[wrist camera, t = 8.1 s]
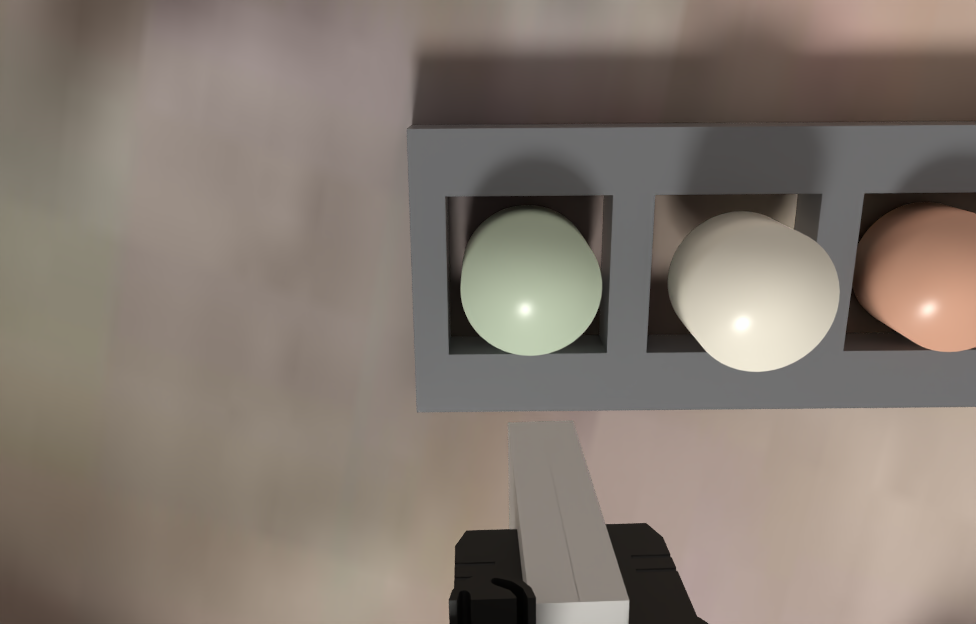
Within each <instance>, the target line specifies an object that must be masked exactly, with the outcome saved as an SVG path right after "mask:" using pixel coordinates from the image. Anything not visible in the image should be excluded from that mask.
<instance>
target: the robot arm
mask: <svg viewBox="0 0 976 624" xmlns="http://www.w3.org/2000/svg"><path fill="white" fill-rule="evenodd" d="M508 465H509V528H510V529H504V530H472V531H466V532H465V533H464V535H463V536H462V537H461V539H460V540H459V542H458V543H457V544H456V546H455V581H454V589H453V590H452V593H451V596H450V598H449V619H450V624H708V623H707V622H705V621H704V620H702V619H701V618H699V617H697V615H696V613H695V610H694V608H693V606H692V604H691V601H690V599H689V597H688V594H687V592H686V590H685V587H684V585H683V583H682V580H681V578H680V576H679V573H678V571H676V566H675V564H674V562H673V560H672V557H670V553H669V550H668V548H667V546H666V543H665V541H664V539H663V537H662V536H661V535H659V534H658V533H657V532H656V531H655V530H654V529H652V528H651V527H650V526H649V525H648V524H647V523H634V524H605V521H604V518H603V515H602V512H601V509H600V505H599V502H598V499H597V496H596V493H595V489H594V486H593V483H592V480H591V477H590V474H589V470H588V467H587V464H586V461H585V458H584V454H583V451H582V448H581V445H580V442H579V438H578V435H577V432H576V429H575V426H574V423H573V421H542V422H508Z"/></svg>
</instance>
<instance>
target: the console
mask: <svg viewBox="0 0 976 624" xmlns="http://www.w3.org/2000/svg"><path fill="white" fill-rule="evenodd" d="M407 151H408V179H409V207H410V236H411V264H412V292H413V320H414V348H415V376H416V404H417V412H493V411H596V410H700V409H804V408H907V407H976V347H974V348H971V349H968V350H963V351H957V352H940V351H935V350H930V349H927V348H924V347H922V346H920V345H918V344H916V343H915V342H913V341H911V340H910V339H908V338H906V337H905V336H903V335H902V334H900V333H846V327H847V319H848V312H849V304H850V297H851V289H852V282H853V274H854V267H855V259H856V252H857V244H858V237H859V229H860V222H861V214H862V207H863V199H864V193H958V192H976V121H920V122H778V123H635V124H493V125H411V126H410V127H409V128H407ZM697 194H798V202H797V211H796V220H795V229H794V230H796V231H798V232H800V233H802V234H804V235H806V236H808V237H810V238H811V239H813V240H814V241H815V242H817V243H818V244H819V245H820V246H821V247H822V248H823V249H824V250H825V251H826V253H827V254H828V255H829V257H830V259H831V260H832V262H833V264H834V266H835V269H836V272H837V275H838V280H839V289H840V295H839V304H838V309H837V313H836V315H835V318H834V321H833V323H832V325H831V327H830V329H829V330H828V332H827V334H826V335H825V337H824V338H823V339H822V340H821V342H820V343H819V344H818V345H817V346H816V347H815V348H814V349H813V350H812V351H811V352H809V353H808V354H807V355H805V356H804V357H803V358H801V359H799V360H798V361H796V362H794V363H792V364H790V365H787V366H785V367H782V368H779V369H775V370H770V371H762V372H750V371H743V370H738V369H734V368H731V367H729V366H726V365H724V364H722V363H720V362H719V361H717V360H716V359H714V358H713V357H712V356H711V355H710V354H708V353H707V352H706V351H705V349H704V348H703V347H702V346H701V345H700V343H699V342H698V341H697V340H696V339H695V337H694V336H693V335H692V334H679V335H647V332H648V314H649V296H650V278H651V260H652V242H653V224H654V207H655V195H697ZM567 195H604V205H603V232H602V259H601V278H602V295H601V300H600V314H599V335H581V336H580V337H578V338H577V339H576V340H575V341H574V342H572V343H571V344H569V345H567V346H566V347H564V348H562V349H560V350H557V351H554V352H551V353H548V354H543V355H535V356H525V355H517V354H512V353H509V352H506V351H503V350H501V349H499V348H496V347H495V346H493V345H491V344H490V343H488V342H487V341H486V340H485V339H483V338H482V337H481V336H456V337H451V325H450V278H449V231H448V196H567Z"/></svg>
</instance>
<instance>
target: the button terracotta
mask: <svg viewBox="0 0 976 624" xmlns="http://www.w3.org/2000/svg"><path fill="white" fill-rule="evenodd" d="M852 286H853V290H854V293H855V295H856V298H857V299H858V301H859V303H860V304H861V306H862V307H863V308H864V309H865V310H866V311H867V312H868V313H869V314H870V315H872V316H873V317H874V318H876V319H877V320H879V321H881V322H882V323H884V324H886V325H887V326H889V327H890V328H892V329H894V330H895V331H897V332H898V333H900V334H902V335H903V336H905V337H906V338H908V339H910V340H911V341H913V342H915V343H916V344H918V345H920V346H922V347H924V348H927V349H930V350H935V351H940V352H957V351H963V350H968V349H971V348H974V347H976V213H973V212H969V211H966V210H962V209H959V208H955V207H951V206H948V205H944V204H940V203H935V202H916V203H911V204H907V205H904V206H901V207H898V208H896V209H894V210H892V211H890V212H888V213H887V214H885V215H884V216H882V217H881V218H880V219H878V220H877V221H876V222H875V223H874V224H873V225H872V226H871V227H870V228H869V229H868V231H867V232H866V233H865V234H864V236H863V237H862V239H861V241H860V242H859V244H858V246H857V252H856V259H855V267H854V274H853V282H852Z"/></svg>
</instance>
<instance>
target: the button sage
mask: <svg viewBox="0 0 976 624" xmlns="http://www.w3.org/2000/svg"><path fill="white" fill-rule="evenodd" d="M460 290H461V300H462V304H463V308H464V311H465V314H466V316H467V318H468V320H469V322H470V324H471V325H472V326H473V328H474V329H475V330H476V332H477V333H478V334H479V335H480V336H481V337H482V338H483V339H485V340H486V341H487V342H488V343H490V344H491V345H493V346H495V347H496V348H499V349H501V350H503V351H506V352H509V353H512V354H517V355H525V356H535V355H543V354H548V353H551V352H554V351H557V350H560V349H562V348H564V347H566V346H567V345H569V344H571V343H572V342H574V341H575V340H576V339H577V338H578V337H580V336H581V335H582V334H583V333H584V331H585V330H586V329H587V328H588V327H589V325H590V324H591V322H592V321H593V319H594V317H595V315H596V313H597V310H598V308H599V304H600V300H601V295H602V278H601V272H600V268H599V265H598V262H597V260H596V258H595V255H594V254H593V252H592V250H591V249H590V247H589V246H588V244H587V242H586V241H585V239H584V238H583V236H582V234H581V233H580V231H579V230H578V229H577V228H576V226H575V225H574V224H573V223H572V222H571V221H570V220H569V219H567V218H566V217H565V216H563V215H562V214H560V213H558V212H556V211H554V210H552V209H549V208H546V207H542V206H537V205H518V206H513V207H509V208H506V209H503V210H501V211H499V212H497V213H495V214H493V215H492V216H490V217H489V218H487V219H486V220H485V221H484V222H483V223H481V224H480V226H479V227H478V228H477V229H476V230H475V232H474V233H473V235H472V236H471V238H470V240H469V242H468V244H467V246H466V249H465V252H464V257H463V264H462V275H461V289H460Z"/></svg>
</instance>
